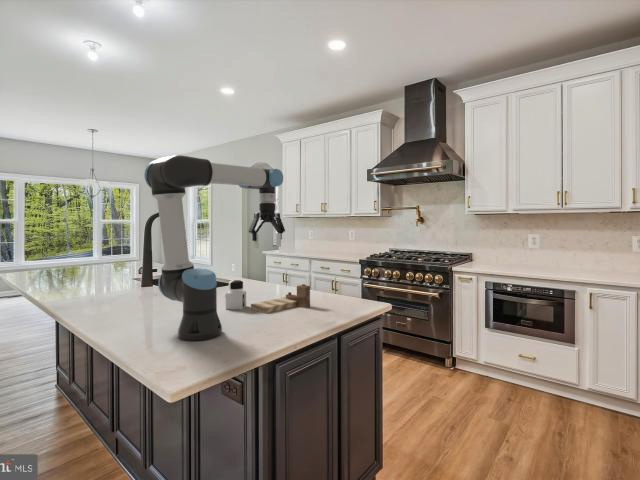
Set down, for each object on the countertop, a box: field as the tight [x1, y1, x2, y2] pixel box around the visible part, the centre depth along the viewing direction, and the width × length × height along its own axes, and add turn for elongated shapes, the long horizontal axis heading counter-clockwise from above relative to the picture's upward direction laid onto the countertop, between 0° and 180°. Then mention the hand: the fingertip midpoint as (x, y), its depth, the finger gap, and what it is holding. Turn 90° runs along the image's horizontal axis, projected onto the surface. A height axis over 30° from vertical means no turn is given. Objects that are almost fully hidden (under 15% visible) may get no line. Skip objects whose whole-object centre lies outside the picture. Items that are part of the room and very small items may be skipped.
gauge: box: [285, 283, 311, 309], centre depth 177 cm, size 4×14×11 cm, turn 49°
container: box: [225, 279, 247, 311], centre depth 171 cm, size 8×8×13 cm
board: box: [250, 296, 297, 314], centre depth 174 cm, size 26×11×2 cm, turn 137°
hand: (267, 247), depth 173 cm, fingers open, 13 cm apart
